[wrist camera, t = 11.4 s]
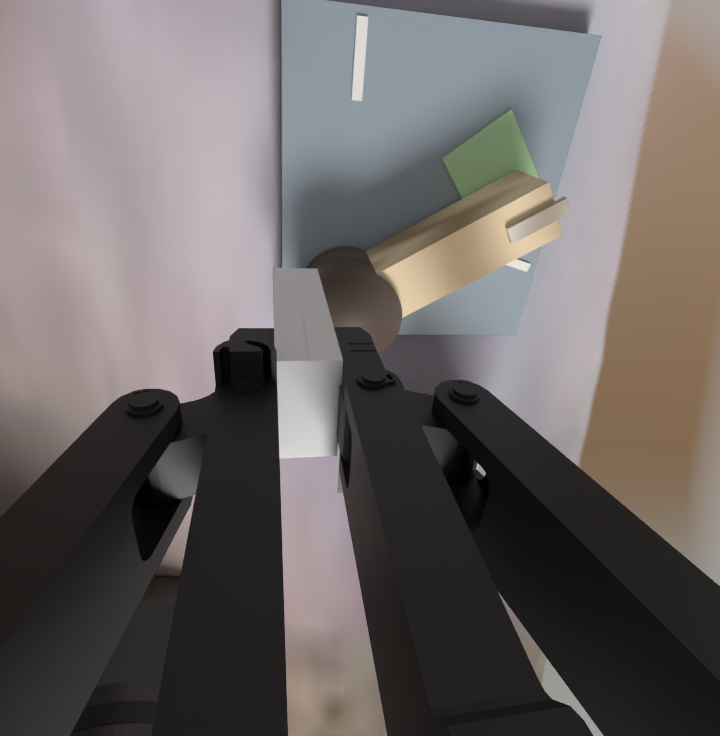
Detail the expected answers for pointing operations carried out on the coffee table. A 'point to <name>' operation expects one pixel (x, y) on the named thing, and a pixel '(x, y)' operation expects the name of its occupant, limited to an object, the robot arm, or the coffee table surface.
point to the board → (419, 134)
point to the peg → (438, 255)
